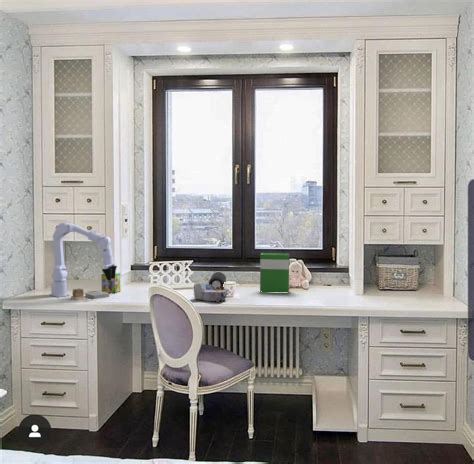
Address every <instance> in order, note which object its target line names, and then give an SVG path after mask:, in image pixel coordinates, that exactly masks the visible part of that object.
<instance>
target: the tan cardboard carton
mask: <svg viewBox="0 0 474 464" xmlns="http://www.w3.org/2000/svg"><path fill="white" fill-rule="evenodd" d="M70 298H71V299H72V300H77V301H80V300H85V299H86V297H85V296H84V289H83V288H74V289H72V295H71V296H70Z"/></svg>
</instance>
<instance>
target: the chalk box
mask: <svg viewBox="0 0 474 464" xmlns="http://www.w3.org/2000/svg"><path fill="white" fill-rule="evenodd" d="M100 275H101V292H105V293H109V294H117V293H119V292H121V290H122V289H121V273H120V272H116V273H115V278H111V280H107V278H106V276H105V274H104V273H101V274H100Z"/></svg>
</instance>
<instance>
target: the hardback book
mask: <svg viewBox="0 0 474 464" xmlns="http://www.w3.org/2000/svg"><path fill="white" fill-rule="evenodd" d="M259 259H260V261H259V262H260V264H259V265H260V266H259V267H260V268H259V270H260V273H259V274H260V275H259V277H260V278H259V279H260V280H259V293H260V292H261V291H262V292H288V293H290V253H277V252H276V253H275V252H273V253H272V252H261V253H260V257H259Z"/></svg>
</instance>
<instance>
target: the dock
mask: <svg viewBox="0 0 474 464" xmlns="http://www.w3.org/2000/svg"><path fill="white" fill-rule="evenodd" d="M109 297H110V293H105V292H102V290H99V291H92V292H86V293H85V298H89V299H93V300H97V299H98V300H99V299H102V298H109Z"/></svg>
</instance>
